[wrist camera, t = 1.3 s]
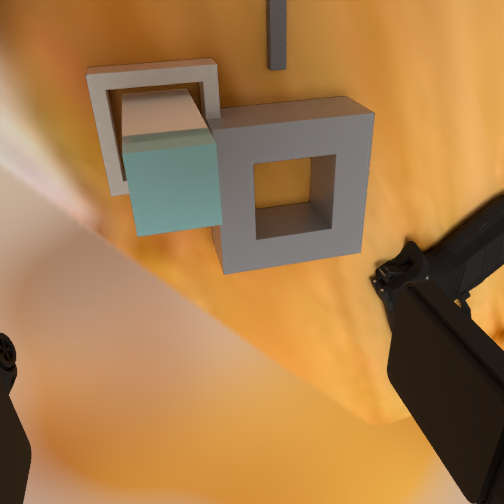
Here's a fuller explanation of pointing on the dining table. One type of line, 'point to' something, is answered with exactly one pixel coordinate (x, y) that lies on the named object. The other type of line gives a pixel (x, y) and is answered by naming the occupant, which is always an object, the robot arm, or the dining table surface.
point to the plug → (169, 162)
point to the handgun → (448, 261)
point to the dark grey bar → (276, 34)
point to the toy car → (7, 362)
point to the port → (322, 181)
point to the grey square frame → (142, 77)
